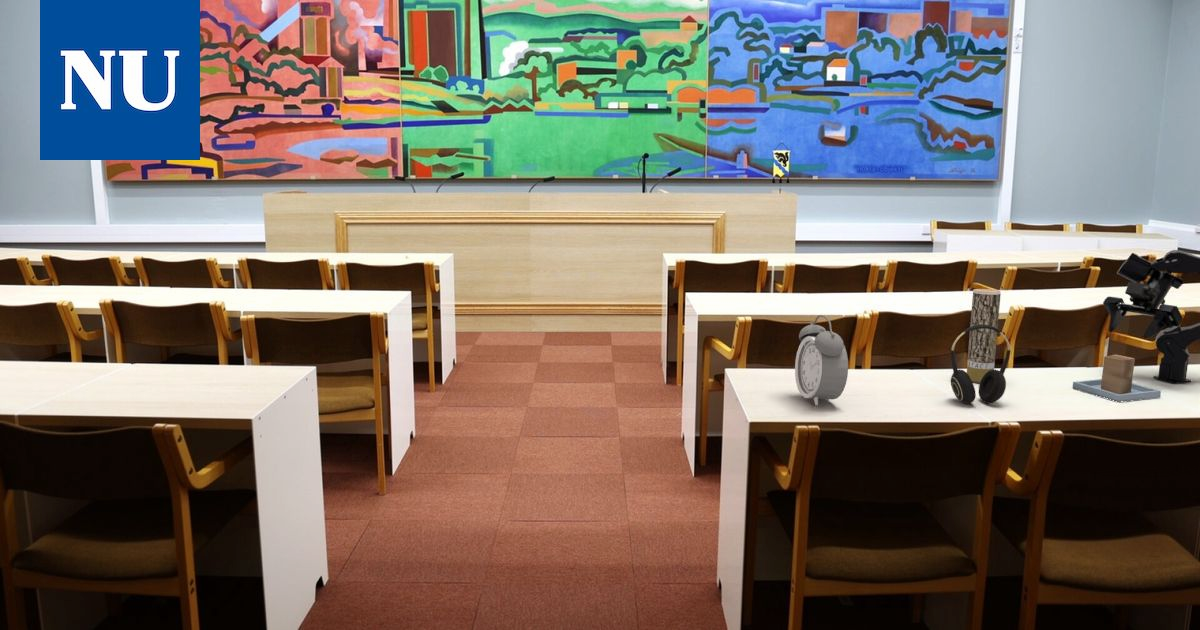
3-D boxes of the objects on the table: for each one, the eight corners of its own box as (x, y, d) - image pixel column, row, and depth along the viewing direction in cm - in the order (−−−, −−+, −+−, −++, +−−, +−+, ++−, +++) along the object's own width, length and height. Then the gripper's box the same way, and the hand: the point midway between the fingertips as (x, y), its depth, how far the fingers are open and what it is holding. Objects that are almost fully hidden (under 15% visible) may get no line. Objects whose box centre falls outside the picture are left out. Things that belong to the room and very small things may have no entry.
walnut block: (1111, 387, 230) (1115, 354, 229) (1130, 392, 226) (1134, 358, 225) (1100, 390, 228) (1104, 356, 226) (1119, 394, 224) (1123, 360, 222)
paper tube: (972, 376, 244) (980, 288, 239) (997, 381, 239) (1005, 291, 234) (961, 380, 239) (968, 290, 235) (986, 385, 234) (994, 293, 230)
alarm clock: (790, 393, 226) (794, 310, 222) (822, 392, 228) (826, 309, 224) (815, 411, 210) (820, 322, 206) (849, 410, 212) (854, 321, 208)
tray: (1112, 384, 236) (1113, 377, 236) (1160, 397, 223) (1160, 390, 223) (1072, 388, 232) (1073, 381, 231) (1118, 402, 219) (1119, 395, 218)
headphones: (940, 398, 222) (946, 321, 219) (997, 397, 223) (1004, 321, 219) (954, 407, 214) (960, 327, 210) (1013, 407, 214) (1021, 327, 210)
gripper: (1110, 267, 241) (1082, 310, 238) (1182, 275, 225) (1153, 321, 222) (1124, 293, 247) (1096, 335, 243) (1194, 303, 231) (1166, 348, 227)
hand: (1126, 334), depth 234 cm, fingers open, 9 cm apart
